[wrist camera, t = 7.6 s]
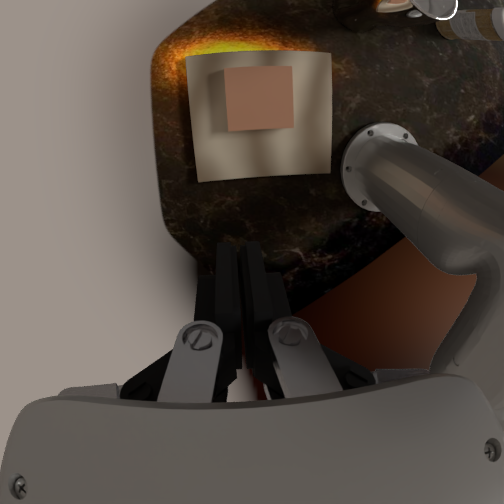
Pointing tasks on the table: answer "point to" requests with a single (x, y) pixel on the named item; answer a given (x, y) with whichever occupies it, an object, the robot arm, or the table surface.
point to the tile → (259, 97)
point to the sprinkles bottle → (474, 25)
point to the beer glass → (391, 13)
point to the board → (261, 140)
